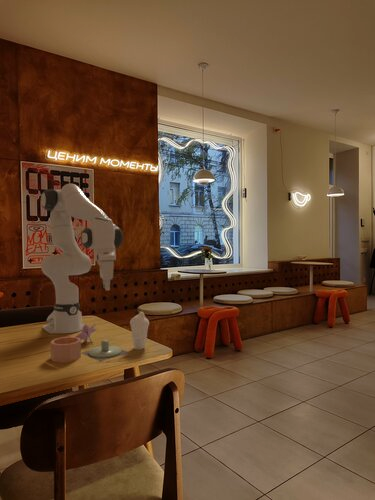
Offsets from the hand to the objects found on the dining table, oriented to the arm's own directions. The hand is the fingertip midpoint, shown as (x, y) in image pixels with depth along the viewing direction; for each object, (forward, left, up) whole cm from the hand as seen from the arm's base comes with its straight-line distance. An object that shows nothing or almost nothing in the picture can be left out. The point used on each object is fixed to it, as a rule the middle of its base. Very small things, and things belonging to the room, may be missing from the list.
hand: (106, 289), depth 148 cm
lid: (+2, -2, -26) cm, 26 cm away
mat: (+2, -2, -26) cm, 26 cm away
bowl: (-4, -16, -26) cm, 31 cm away
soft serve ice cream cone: (+7, +12, -26) cm, 30 cm away
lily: (-15, 0, -26) cm, 31 cm away
